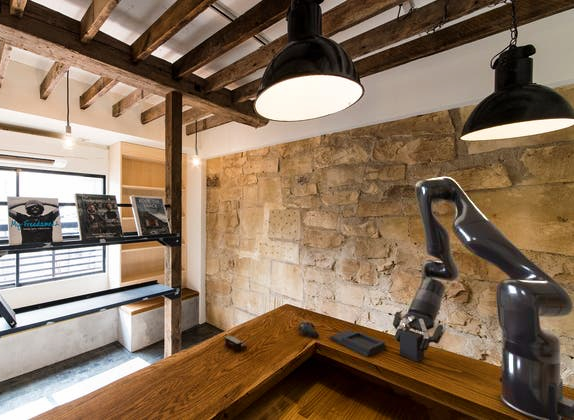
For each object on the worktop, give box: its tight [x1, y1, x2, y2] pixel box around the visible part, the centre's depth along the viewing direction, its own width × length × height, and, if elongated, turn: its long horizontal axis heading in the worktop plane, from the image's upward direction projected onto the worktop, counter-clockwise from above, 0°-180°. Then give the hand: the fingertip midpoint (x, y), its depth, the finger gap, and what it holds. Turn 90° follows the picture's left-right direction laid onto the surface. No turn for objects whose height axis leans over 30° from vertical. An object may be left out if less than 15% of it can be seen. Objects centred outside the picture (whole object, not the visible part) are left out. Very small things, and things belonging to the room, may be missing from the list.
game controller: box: [298, 321, 320, 339], centre depth 108 cm, size 10×5×6 cm
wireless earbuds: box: [224, 334, 248, 353], centre depth 95 cm, size 5×7×3 cm, turn 41°
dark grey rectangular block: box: [399, 329, 425, 363], centre depth 90 cm, size 5×5×8 cm
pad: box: [330, 329, 387, 358], centre depth 99 cm, size 14×12×2 cm
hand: (409, 345), depth 89 cm, fingers open, 6 cm apart
